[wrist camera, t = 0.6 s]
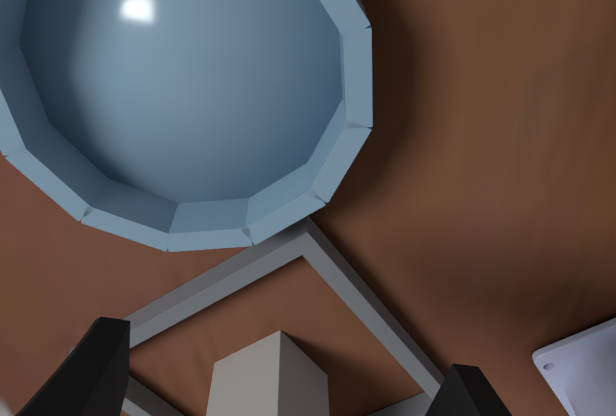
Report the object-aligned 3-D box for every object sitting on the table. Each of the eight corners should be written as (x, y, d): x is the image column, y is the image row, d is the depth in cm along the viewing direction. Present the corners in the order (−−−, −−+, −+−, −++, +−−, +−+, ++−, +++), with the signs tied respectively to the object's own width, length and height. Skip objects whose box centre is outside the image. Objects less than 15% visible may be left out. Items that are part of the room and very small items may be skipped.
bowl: (425, 106, 19) (440, 139, 17) (177, 254, 22) (165, 296, 20) (209, -250, 13) (193, -266, 11) (-73, 21, 17) (-125, 46, 15)
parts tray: (455, 389, 28) (461, 410, 27) (248, 474, 32) (246, 494, 31) (306, 213, 21) (307, 232, 20) (71, 348, 26) (62, 368, 25)
